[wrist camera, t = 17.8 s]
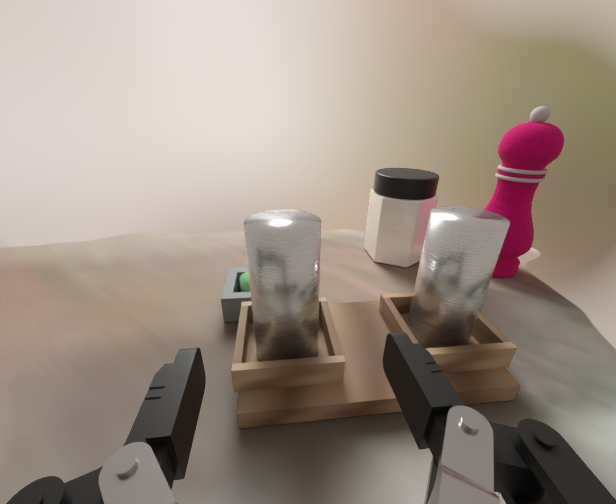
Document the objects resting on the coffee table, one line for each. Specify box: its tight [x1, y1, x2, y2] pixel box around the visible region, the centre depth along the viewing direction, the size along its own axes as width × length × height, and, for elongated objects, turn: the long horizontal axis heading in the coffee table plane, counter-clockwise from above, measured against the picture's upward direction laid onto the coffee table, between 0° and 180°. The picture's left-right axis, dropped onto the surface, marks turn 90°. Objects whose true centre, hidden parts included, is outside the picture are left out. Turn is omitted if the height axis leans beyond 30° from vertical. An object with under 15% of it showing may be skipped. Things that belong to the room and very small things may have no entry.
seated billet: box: [407, 206, 510, 349], centre depth 23 cm, size 5×5×11 cm
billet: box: [244, 209, 321, 362], centre depth 21 cm, size 5×5×11 cm
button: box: [240, 272, 250, 292], centre depth 31 cm, size 3×3×3 cm
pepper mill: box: [484, 106, 564, 277], centre depth 36 cm, size 7×7×20 cm
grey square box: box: [221, 268, 251, 322], centre depth 31 cm, size 6×6×3 cm
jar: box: [364, 168, 439, 267], centre depth 40 cm, size 9×8×12 cm
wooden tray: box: [231, 292, 521, 428], centre depth 24 cm, size 21×11×4 cm, turn 97°
